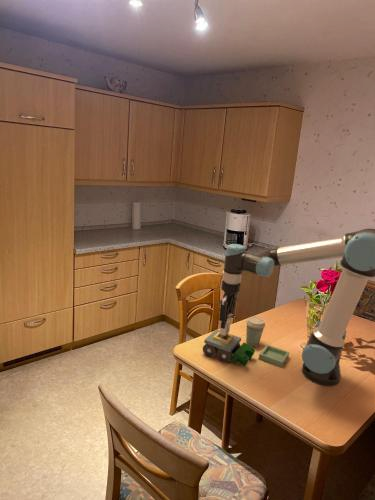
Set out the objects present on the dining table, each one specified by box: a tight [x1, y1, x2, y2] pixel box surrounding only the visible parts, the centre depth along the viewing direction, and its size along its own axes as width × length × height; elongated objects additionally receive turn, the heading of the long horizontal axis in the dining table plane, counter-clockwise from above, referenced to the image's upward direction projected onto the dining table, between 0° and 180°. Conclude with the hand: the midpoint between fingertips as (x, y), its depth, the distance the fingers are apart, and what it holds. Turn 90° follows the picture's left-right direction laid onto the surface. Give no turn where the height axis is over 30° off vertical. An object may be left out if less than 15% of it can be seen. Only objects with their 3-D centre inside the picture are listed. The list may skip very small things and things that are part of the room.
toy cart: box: [202, 329, 242, 364], centre depth 161 cm, size 13×12×9 cm
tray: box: [258, 344, 290, 368], centre depth 163 cm, size 10×10×2 cm
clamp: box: [229, 341, 256, 367], centre depth 158 cm, size 12×6×9 cm, turn 144°
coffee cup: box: [245, 316, 266, 348], centre depth 172 cm, size 8×8×12 cm
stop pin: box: [220, 312, 233, 340], centre depth 158 cm, size 4×4×12 cm
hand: (224, 332), depth 159 cm, fingers closed on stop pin, 3 cm apart
